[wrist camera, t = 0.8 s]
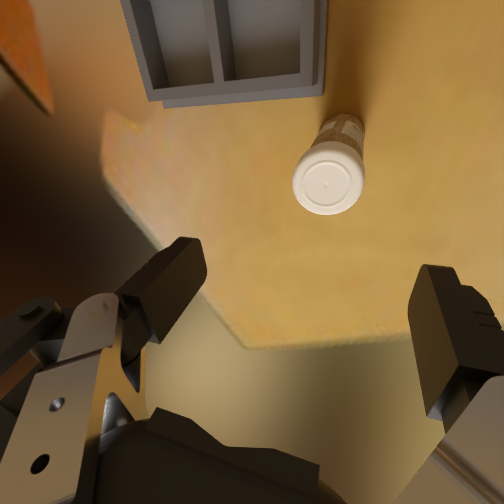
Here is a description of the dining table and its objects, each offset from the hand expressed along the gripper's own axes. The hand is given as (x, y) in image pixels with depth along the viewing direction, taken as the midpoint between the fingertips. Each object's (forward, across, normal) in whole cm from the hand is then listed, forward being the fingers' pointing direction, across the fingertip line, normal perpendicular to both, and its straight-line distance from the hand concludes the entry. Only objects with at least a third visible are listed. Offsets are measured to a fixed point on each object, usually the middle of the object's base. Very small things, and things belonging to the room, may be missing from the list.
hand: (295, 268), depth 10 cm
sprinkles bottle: (+23, 0, 0) cm, 23 cm away
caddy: (+23, +11, -9) cm, 27 cm away
